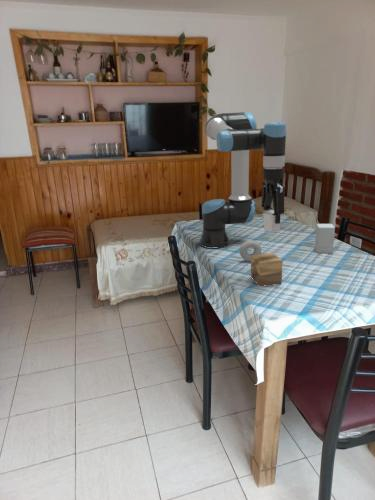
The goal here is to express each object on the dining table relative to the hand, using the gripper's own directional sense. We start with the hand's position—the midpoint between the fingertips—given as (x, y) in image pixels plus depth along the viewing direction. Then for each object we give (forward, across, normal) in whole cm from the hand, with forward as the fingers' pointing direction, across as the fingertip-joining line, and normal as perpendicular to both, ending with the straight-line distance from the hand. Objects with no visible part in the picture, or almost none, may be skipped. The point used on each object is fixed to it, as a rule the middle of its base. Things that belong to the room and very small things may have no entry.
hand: (271, 228), depth 134 cm
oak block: (+16, -1, +2) cm, 16 cm away
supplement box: (+21, +22, -38) cm, 49 cm away
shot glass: (+1, 0, 0) cm, 1 cm away
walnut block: (+21, -1, +2) cm, 22 cm away
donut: (+21, +21, 0) cm, 30 cm away
